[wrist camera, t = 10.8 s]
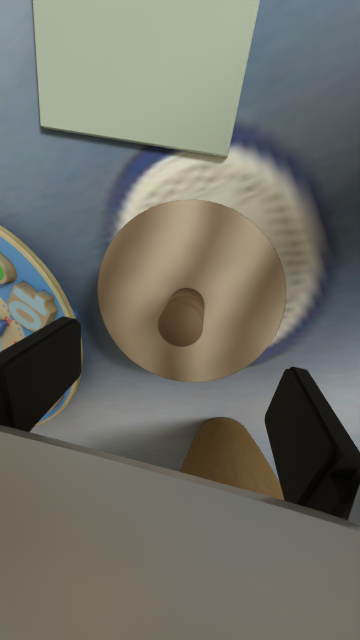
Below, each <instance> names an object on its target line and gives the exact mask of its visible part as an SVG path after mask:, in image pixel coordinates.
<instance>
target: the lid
mask: <svg viewBox="0 0 360 640" xmlns="http://www.w3.org/2000/svg"><path fill="white" fill-rule="evenodd" d="M98 301H99V307H100V312H101V315H102V318H103V321H104V323H105V326H106V328H107V330H108V332H109V334H110V335H111V337H112V339H113V340H114V342H115V343H116V344H117V346H118V347H119V348H120V349H121V350H122V351H123V352H124V353H125V354H126V356H128V357H129V358H130V359H131V360H132V361H134V362H135V363H136V364H138V365H139V366H141V367H142V368H144V369H145V370H147V371H149V372H151V373H153V374H156V375H158V376H161V377H163V378H167V379H171V380H175V381H182V382H206V381H212V380H217V379H220V378H224V377H227V376H229V375H231V374H234V373H236V372H238V371H240V370H241V369H243V368H245V367H246V366H248V365H249V364H250V363H252V362H253V361H254V360H255V359H257V358H258V357H259V356H260V355H261V354H262V353H263V352H264V350H265V349H266V348H267V347H268V346H269V344H270V343H271V341H272V339H273V338H274V336H275V335H276V333H277V330H278V328H279V326H280V324H281V321H282V317H283V314H284V309H285V302H286V283H285V276H284V272H283V268H282V265H281V261H280V259H279V257H278V255H277V253H276V250H275V248H274V247H273V245H272V244H271V242H270V241H269V239H268V238H267V237H266V235H265V234H264V233H263V232H262V231H261V230H260V229H259V228H258V226H256V225H255V224H254V223H253V222H251V221H250V220H249V219H248V218H247V217H245V216H243V215H242V214H240V213H238V212H237V211H235V210H233V209H231V208H228V207H226V206H223V205H221V204H217V203H213V202H209V201H203V200H193V199H191V200H176V201H171V202H166V203H163V204H160V205H157V206H154V207H152V208H149V209H148V210H146V211H144V212H142V213H140V214H138V215H137V216H136V217H134V218H133V219H132V220H130V221H129V222H128V223H127V224H126V225H125V226H124V227H123V228H122V229H121V230H120V231H119V232H118V233H117V235H116V236H115V237H114V239H113V240H112V242H111V243H110V245H109V247H108V249H107V251H106V253H105V255H104V258H103V260H102V263H101V267H100V271H99V276H98Z"/></svg>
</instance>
